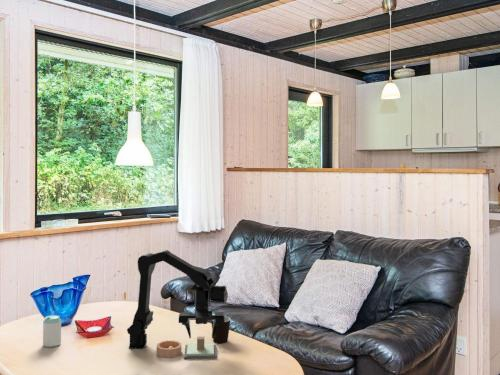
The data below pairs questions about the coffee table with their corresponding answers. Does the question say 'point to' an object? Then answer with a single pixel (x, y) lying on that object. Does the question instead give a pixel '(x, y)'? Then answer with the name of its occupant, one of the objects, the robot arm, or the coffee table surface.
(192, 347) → the lid
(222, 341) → the coffee mug
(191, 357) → the mat
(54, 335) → the can
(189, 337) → the robot arm
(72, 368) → the coffee table surface
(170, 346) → the bowl
